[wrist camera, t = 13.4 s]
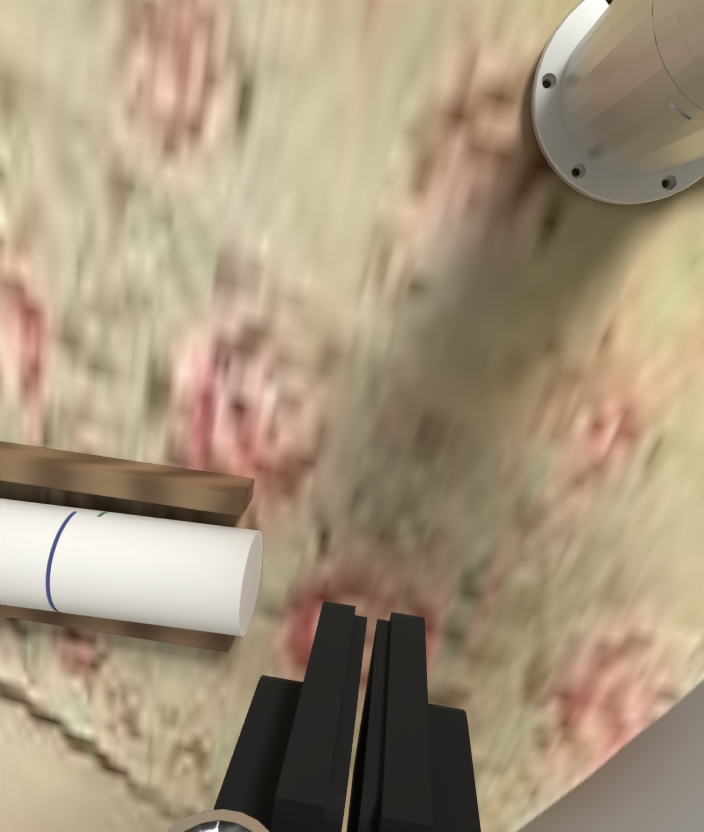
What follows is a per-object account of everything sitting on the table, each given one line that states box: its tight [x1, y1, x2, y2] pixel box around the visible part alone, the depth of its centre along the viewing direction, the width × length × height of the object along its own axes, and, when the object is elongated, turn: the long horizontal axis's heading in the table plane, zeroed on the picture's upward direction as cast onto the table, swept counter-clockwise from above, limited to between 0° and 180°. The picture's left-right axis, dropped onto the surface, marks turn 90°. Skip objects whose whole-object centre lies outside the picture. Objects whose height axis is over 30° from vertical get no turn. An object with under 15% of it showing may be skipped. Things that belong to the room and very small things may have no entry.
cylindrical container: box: [0, 498, 263, 636], centre depth 45 cm, size 7×7×25 cm
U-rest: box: [0, 441, 254, 652], centre depth 46 cm, size 28×12×5 cm, turn 82°
